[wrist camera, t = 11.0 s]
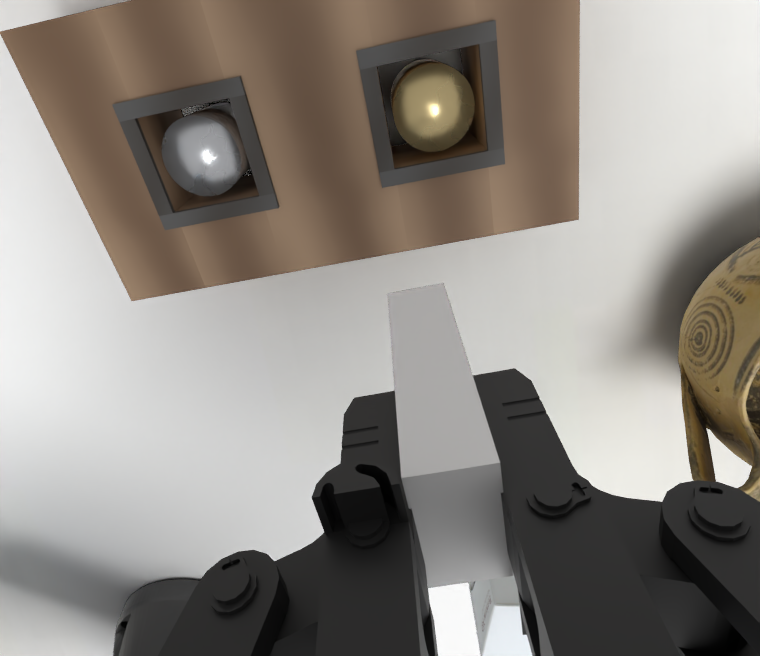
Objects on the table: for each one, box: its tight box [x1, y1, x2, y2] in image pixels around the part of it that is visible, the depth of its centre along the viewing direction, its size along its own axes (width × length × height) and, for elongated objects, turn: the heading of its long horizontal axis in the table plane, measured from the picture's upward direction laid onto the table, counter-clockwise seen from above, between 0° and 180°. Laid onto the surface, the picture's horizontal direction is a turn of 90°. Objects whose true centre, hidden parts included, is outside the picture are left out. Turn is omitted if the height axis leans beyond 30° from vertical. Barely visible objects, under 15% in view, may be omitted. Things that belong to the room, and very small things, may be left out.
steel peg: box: [161, 103, 250, 196], centre depth 28 cm, size 4×4×6 cm
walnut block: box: [0, 0, 580, 301], centre depth 28 cm, size 26×14×6 cm, turn 101°
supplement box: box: [468, 570, 532, 656], centre depth 42 cm, size 7×7×13 cm
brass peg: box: [390, 59, 475, 152], centre depth 27 cm, size 4×4×6 cm
